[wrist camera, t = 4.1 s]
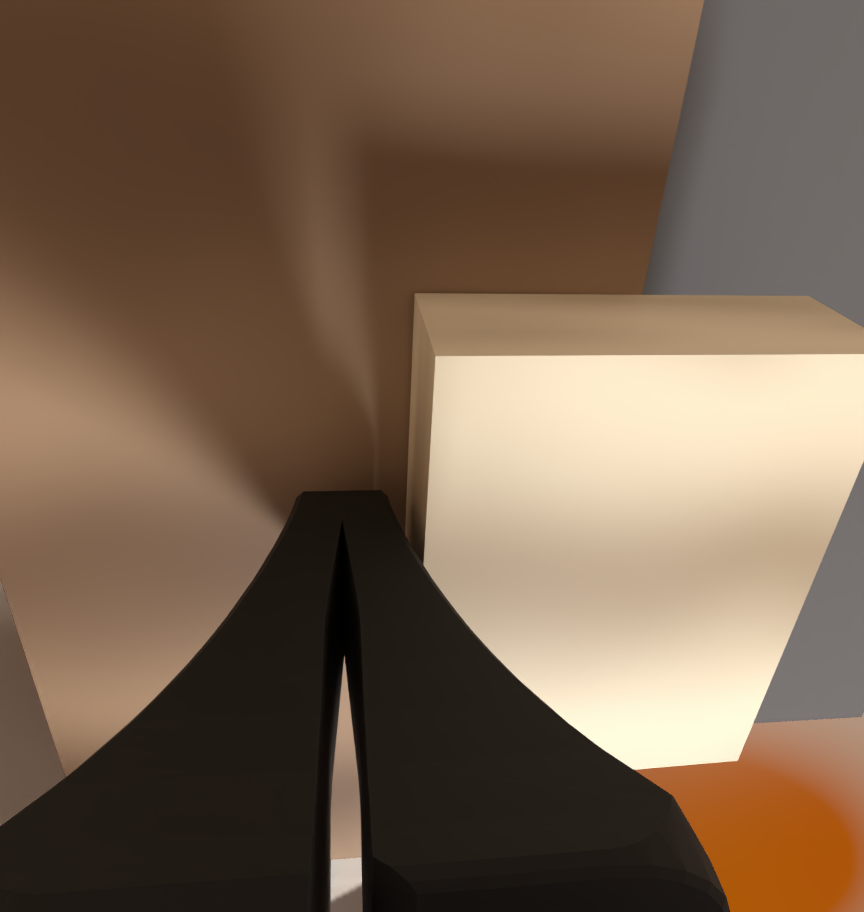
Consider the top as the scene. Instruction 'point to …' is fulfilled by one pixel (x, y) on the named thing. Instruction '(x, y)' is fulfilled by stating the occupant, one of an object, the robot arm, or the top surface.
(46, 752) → the top surface
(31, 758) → the top surface
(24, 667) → the top surface
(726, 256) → the rubber mat
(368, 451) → the walnut deck
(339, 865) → the top surface
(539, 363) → the birch tile
